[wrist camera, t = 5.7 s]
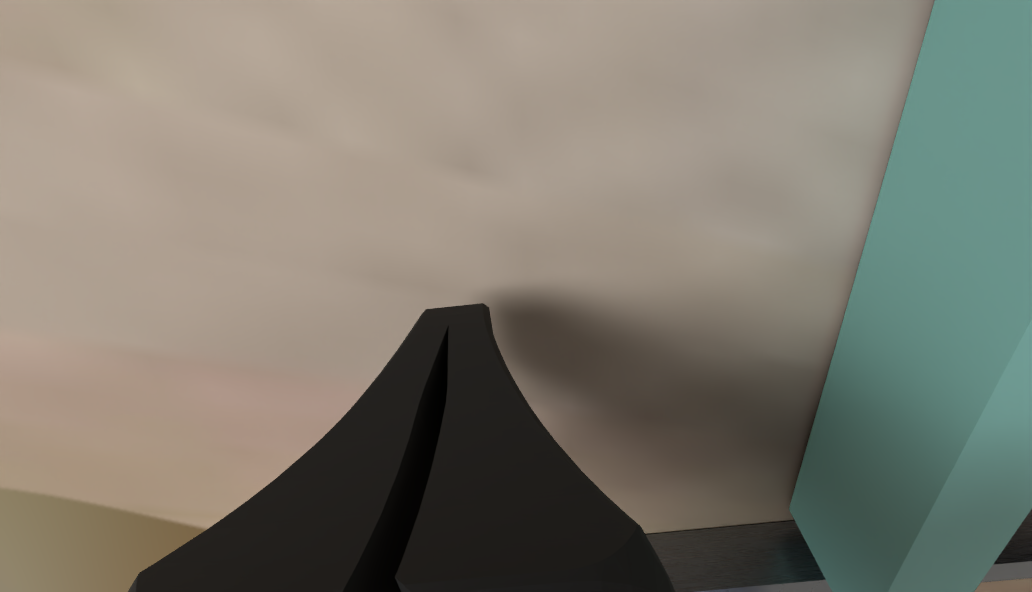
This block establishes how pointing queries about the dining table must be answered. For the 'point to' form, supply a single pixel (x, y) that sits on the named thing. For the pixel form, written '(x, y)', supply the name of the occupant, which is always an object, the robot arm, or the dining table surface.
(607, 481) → the dining table surface
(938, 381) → the long teal rectangular bar
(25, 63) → the dining table surface
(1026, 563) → the shallow rimmed tray
